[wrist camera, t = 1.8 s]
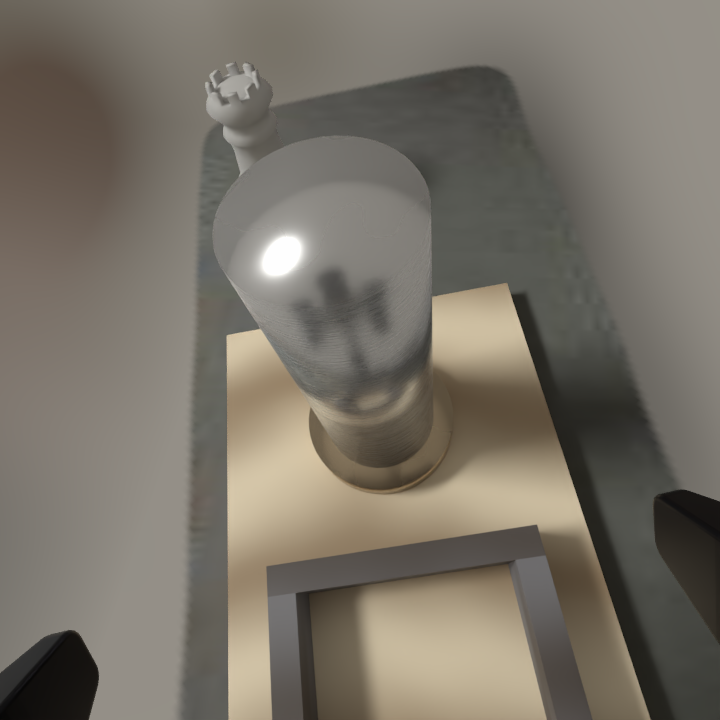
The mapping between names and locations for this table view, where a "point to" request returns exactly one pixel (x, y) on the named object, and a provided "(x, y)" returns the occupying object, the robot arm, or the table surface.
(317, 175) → the grey rounded piece
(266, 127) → the rook chess piece
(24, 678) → the robot arm
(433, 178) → the table surface
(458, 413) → the carrier board
